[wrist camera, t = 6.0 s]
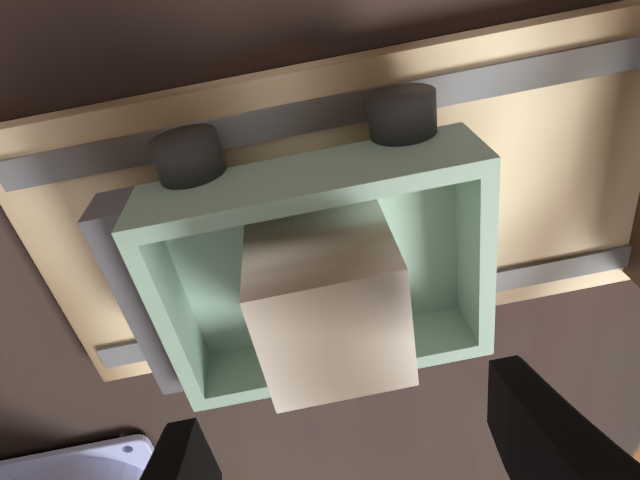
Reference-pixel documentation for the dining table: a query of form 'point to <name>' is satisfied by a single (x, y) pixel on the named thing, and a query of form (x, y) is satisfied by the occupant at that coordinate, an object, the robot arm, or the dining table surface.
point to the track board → (352, 126)
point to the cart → (287, 200)
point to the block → (328, 306)
